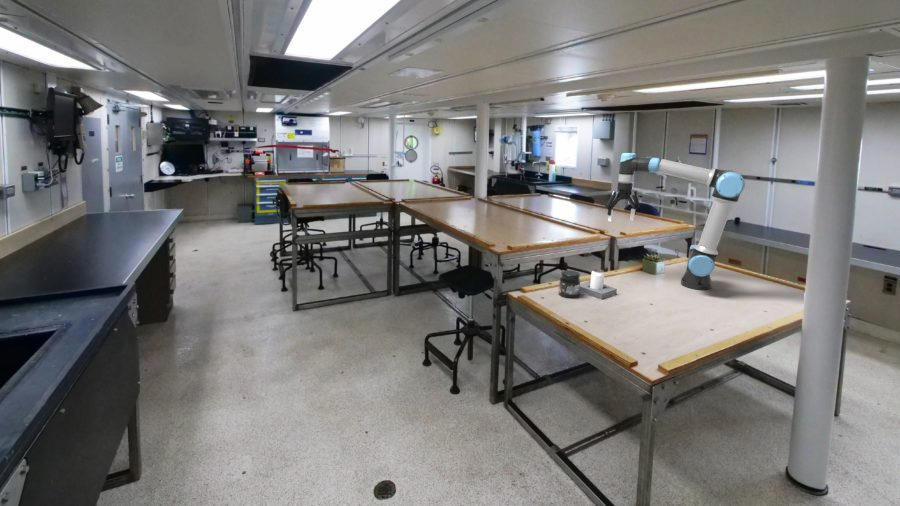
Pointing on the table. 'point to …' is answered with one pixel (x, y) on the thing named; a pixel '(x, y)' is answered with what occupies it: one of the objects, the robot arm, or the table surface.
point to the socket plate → (597, 291)
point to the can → (597, 279)
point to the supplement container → (569, 284)
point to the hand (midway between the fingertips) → (620, 221)
